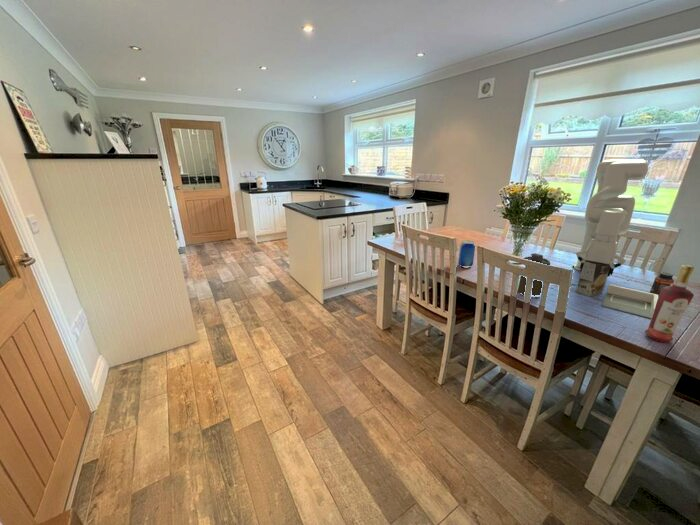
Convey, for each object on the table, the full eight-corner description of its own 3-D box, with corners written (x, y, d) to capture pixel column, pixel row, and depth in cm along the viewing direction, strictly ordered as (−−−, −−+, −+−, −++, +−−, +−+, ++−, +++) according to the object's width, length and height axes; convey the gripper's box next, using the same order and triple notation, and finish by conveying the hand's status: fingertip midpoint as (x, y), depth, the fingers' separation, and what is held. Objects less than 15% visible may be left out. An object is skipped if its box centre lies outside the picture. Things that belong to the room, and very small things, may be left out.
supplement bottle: (671, 299, 125) (681, 276, 121) (655, 298, 126) (664, 276, 122) (660, 293, 130) (669, 271, 126) (645, 292, 131) (653, 271, 127)
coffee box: (589, 296, 129) (599, 265, 124) (575, 291, 135) (583, 260, 129) (602, 293, 132) (612, 262, 126) (588, 288, 138) (597, 258, 132)
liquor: (650, 342, 97) (680, 269, 88) (638, 330, 104) (665, 261, 94) (677, 346, 95) (712, 271, 85) (664, 334, 101) (694, 263, 91)
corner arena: (606, 292, 133) (609, 284, 131) (654, 303, 122) (658, 294, 120) (601, 306, 121) (604, 297, 120) (653, 319, 110) (658, 310, 109)
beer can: (459, 268, 167) (462, 243, 162) (456, 264, 175) (459, 239, 169) (474, 269, 166) (477, 244, 160) (470, 264, 173) (473, 240, 168)
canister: (512, 291, 137) (519, 253, 130) (526, 287, 141) (534, 250, 134) (533, 300, 128) (542, 260, 121) (548, 295, 132) (557, 256, 125)
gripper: (579, 236, 127) (570, 270, 133) (631, 243, 115) (619, 280, 121) (582, 233, 132) (573, 266, 138) (632, 239, 120) (620, 275, 126)
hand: (594, 273), depth 130 cm, fingers open, 9 cm apart
